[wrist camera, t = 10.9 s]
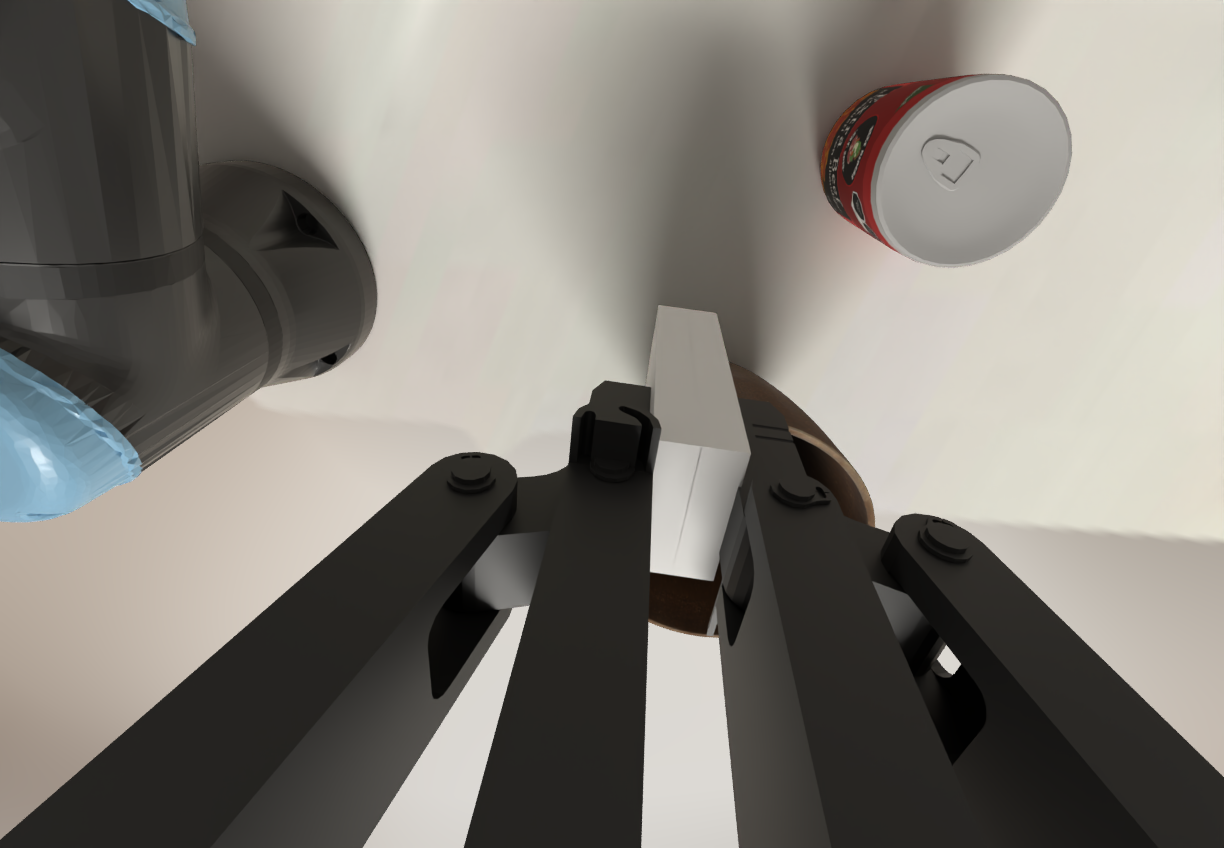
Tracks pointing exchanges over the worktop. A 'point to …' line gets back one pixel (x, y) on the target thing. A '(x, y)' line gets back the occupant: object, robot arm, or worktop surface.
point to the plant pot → (693, 599)
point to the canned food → (949, 165)
